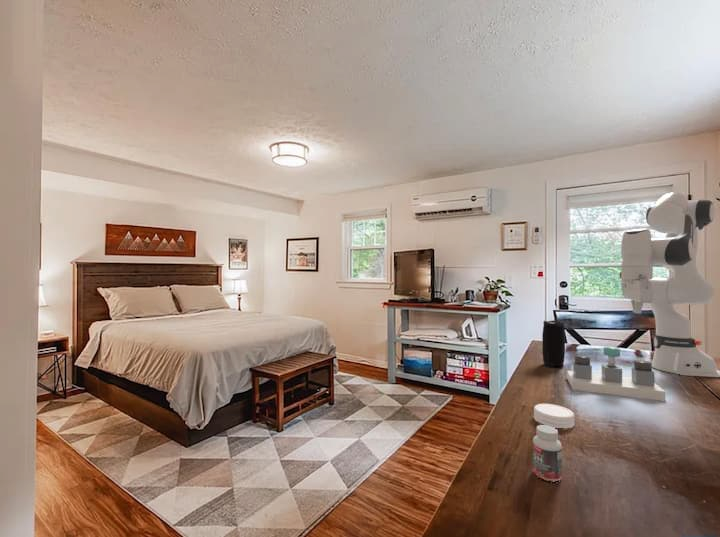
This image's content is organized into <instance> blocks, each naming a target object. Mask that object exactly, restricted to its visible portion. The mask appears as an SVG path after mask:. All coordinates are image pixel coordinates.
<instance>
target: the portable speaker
mask: <svg viewBox="0 0 720 537" xmlns="http://www.w3.org/2000/svg"><path fill="white" fill-rule="evenodd" d="M541 335H542V338H541V340H542V341H541V342H542V348H541V349H542V350H541V353H542V362H543V364H544V366H545V365H546V366H545V367H548V366H549V367H548V368H554V367H560V368H561V367H563V368H564V363H565V354H566V335H565V324H564V322H562V321H560V320H549V321H548V320H543V328H542V334H541Z"/></svg>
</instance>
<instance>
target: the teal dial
mask: <svg viewBox="0 0 720 537" xmlns="http://www.w3.org/2000/svg"><path fill="white" fill-rule="evenodd" d="M603 355H604V356H607V357H608V361H607V362H608V366H611V367H615V365H616V358H617V357H618V358H619V357H621V348H618V347H613V346H604V347H603Z"/></svg>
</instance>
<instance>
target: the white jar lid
mask: <svg viewBox="0 0 720 537" xmlns="http://www.w3.org/2000/svg"><path fill="white" fill-rule="evenodd" d="M533 419H534V420H535V422H537V421H538V422H540V423H542V424H544V425H547V426H551V427H554V428H564V429H563V430H568V429H567V428H570V429H572V428H573V427H574V426H575V413H574V412H573V410H570V409H569V408H566V407H564V406H562V405H557V404H553V403H552V404H551V403H538V404H536V405H534V407H533ZM538 422H537V423H538ZM540 423H539V424H540ZM542 424H541V425H542ZM565 428H566V429H565Z"/></svg>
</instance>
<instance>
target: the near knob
mask: <svg viewBox="0 0 720 537" xmlns="http://www.w3.org/2000/svg"><path fill="white" fill-rule="evenodd" d="M633 367H634V368H635V369H638V370H642V371H653V367H652V362H650V361H646V360H641V359H639V360H637V359H635V360H634V362H633Z"/></svg>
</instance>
